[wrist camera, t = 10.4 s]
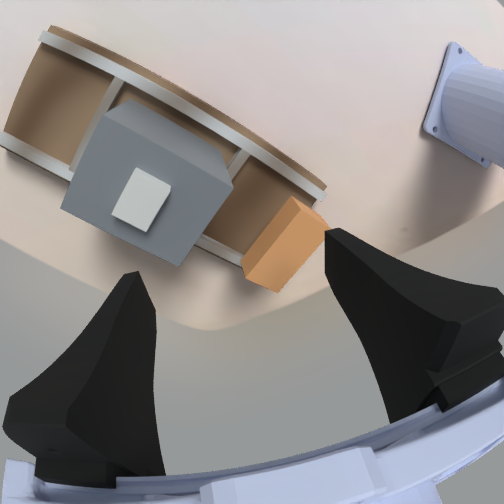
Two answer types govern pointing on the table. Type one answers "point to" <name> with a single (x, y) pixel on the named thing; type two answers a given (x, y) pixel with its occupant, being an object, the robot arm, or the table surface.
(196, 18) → the table surface
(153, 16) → the table surface
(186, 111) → the rail board
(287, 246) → the tan wooden brick
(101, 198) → the block
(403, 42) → the table surface
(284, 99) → the table surface
